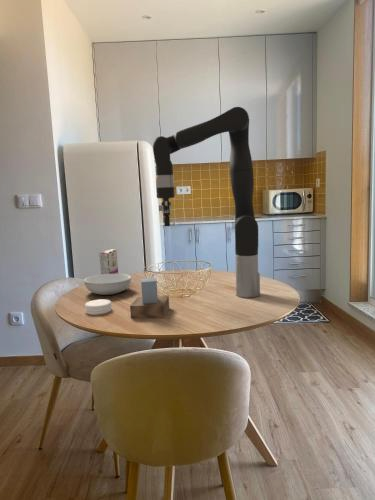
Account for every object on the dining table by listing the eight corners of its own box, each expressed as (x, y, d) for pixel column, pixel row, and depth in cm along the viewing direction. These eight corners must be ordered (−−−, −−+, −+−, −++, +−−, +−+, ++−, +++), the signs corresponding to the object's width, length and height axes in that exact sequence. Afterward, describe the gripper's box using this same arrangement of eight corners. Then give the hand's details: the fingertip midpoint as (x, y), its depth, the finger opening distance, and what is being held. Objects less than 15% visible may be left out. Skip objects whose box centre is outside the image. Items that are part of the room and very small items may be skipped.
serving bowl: (123, 299, 165) (122, 283, 164) (77, 298, 169) (75, 283, 168) (137, 287, 185) (136, 273, 184) (96, 287, 189) (95, 273, 188)
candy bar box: (110, 280, 202) (107, 249, 200) (119, 280, 201) (117, 249, 199) (101, 285, 192) (98, 252, 189) (110, 285, 191) (108, 252, 188)
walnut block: (169, 309, 149) (168, 296, 148) (164, 319, 137) (163, 305, 136) (138, 309, 150) (137, 296, 150) (130, 319, 139) (130, 305, 138)
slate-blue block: (157, 298, 146) (155, 277, 145) (157, 302, 140) (156, 280, 139) (142, 299, 145) (140, 278, 144) (142, 303, 140) (141, 282, 138)
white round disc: (106, 315, 144) (105, 306, 143) (81, 315, 145) (80, 306, 145) (115, 307, 153) (114, 298, 153) (91, 307, 155) (91, 298, 154)
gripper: (174, 185, 155) (176, 226, 157) (173, 186, 169) (175, 223, 171) (155, 186, 155) (158, 227, 157) (156, 187, 169) (158, 224, 171)
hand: (167, 225), depth 164 cm, fingers open, 8 cm apart
